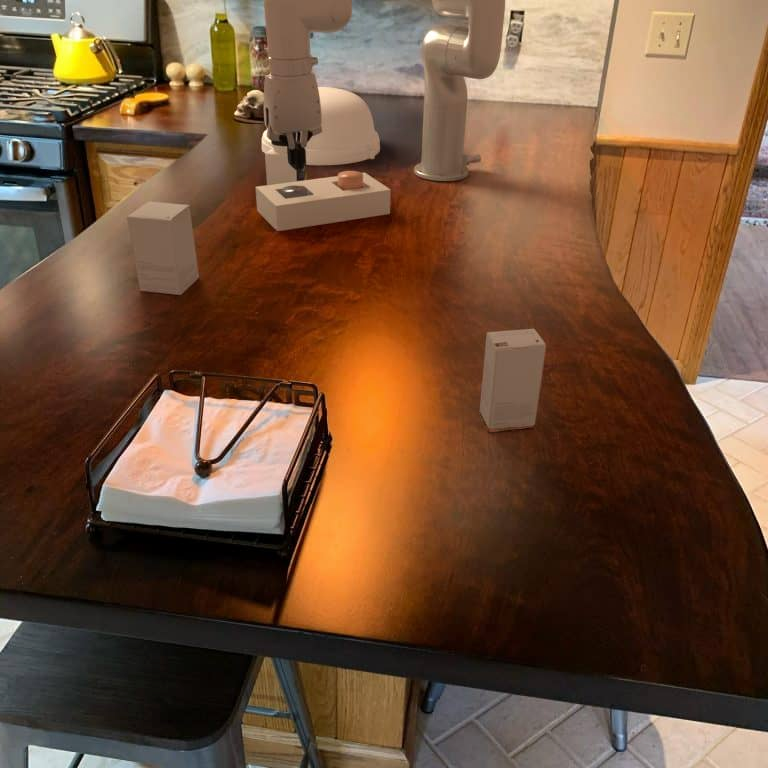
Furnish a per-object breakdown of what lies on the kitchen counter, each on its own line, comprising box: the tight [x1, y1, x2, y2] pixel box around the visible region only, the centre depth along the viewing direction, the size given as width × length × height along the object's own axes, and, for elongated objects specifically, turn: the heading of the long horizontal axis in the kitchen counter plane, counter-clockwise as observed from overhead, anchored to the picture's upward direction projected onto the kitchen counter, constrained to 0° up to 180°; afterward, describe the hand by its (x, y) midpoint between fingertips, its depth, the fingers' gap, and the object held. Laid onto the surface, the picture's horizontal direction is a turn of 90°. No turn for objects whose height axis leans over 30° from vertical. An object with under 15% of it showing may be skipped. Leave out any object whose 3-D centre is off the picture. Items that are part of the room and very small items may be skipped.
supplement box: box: [126, 201, 200, 296], centre depth 122 cm, size 7×7×13 cm
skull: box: [232, 89, 265, 124], centre depth 218 cm, size 12×10×10 cm
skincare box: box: [479, 328, 547, 429], centre depth 91 cm, size 6×4×12 cm
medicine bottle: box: [264, 132, 308, 185], centre depth 168 cm, size 7×7×12 cm
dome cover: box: [261, 86, 381, 166], centre depth 191 cm, size 32×30×14 cm
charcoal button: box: [282, 185, 308, 199], centre depth 151 cm, size 5×5×4 cm
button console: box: [255, 172, 391, 232], centre depth 154 cm, size 24×12×5 cm, turn 117°
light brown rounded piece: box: [337, 170, 363, 191], centre depth 155 cm, size 5×5×4 cm
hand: (297, 167), depth 148 cm, fingers closed
